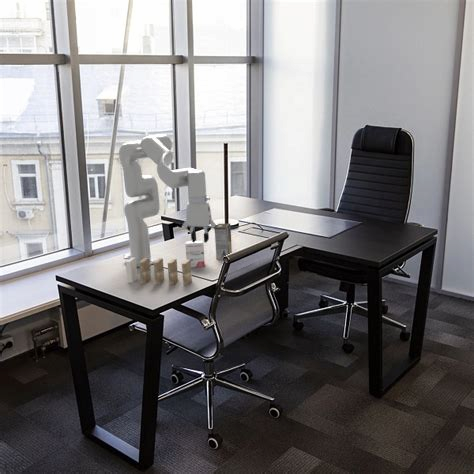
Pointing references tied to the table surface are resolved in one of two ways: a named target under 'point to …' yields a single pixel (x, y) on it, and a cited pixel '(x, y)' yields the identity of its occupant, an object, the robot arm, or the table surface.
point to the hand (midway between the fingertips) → (200, 241)
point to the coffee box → (223, 240)
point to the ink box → (195, 253)
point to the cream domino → (131, 269)
